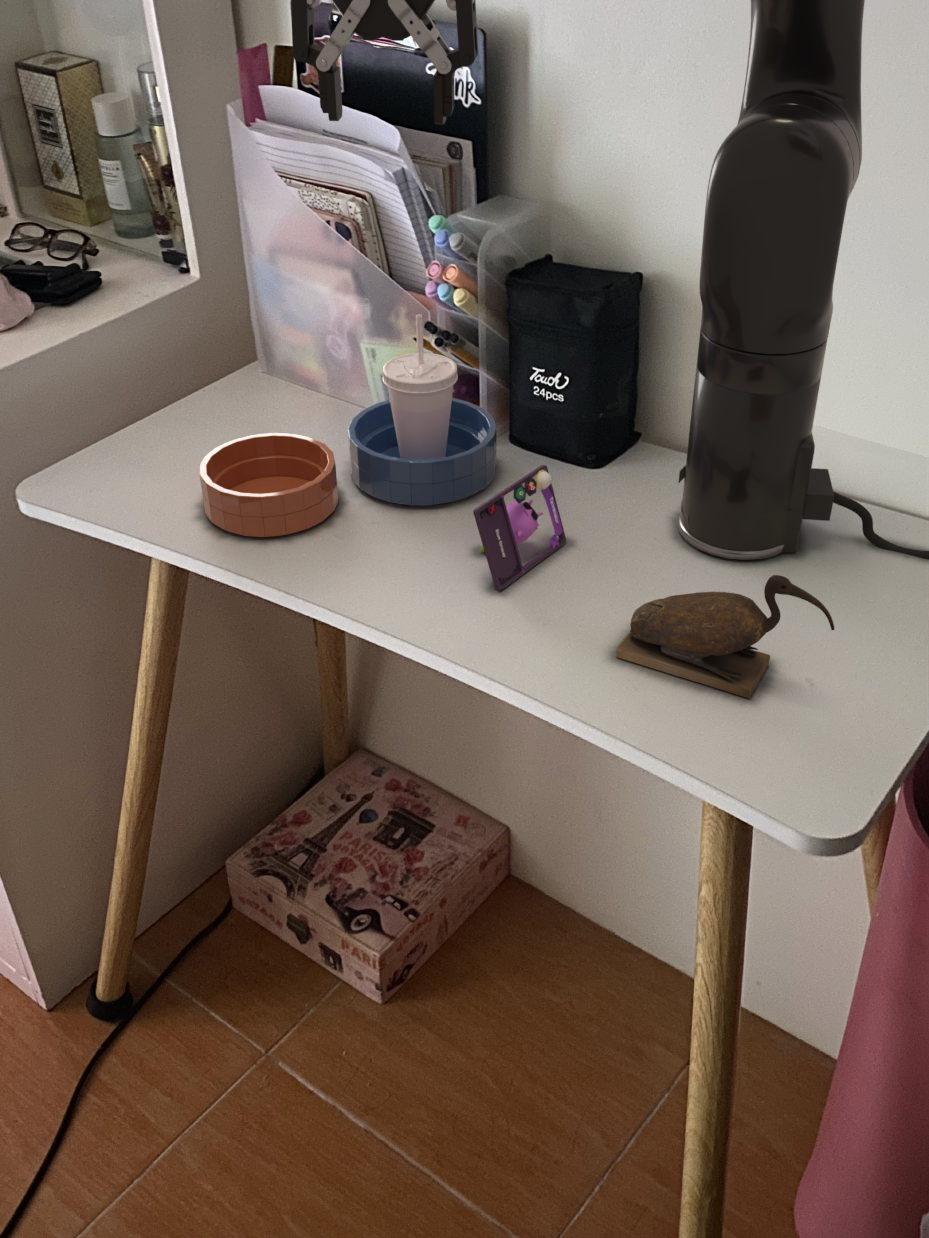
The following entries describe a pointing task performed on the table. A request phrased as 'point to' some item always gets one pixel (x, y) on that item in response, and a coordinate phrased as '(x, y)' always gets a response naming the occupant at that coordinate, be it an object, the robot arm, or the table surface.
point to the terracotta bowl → (269, 484)
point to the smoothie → (421, 399)
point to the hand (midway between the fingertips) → (388, 120)
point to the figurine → (709, 635)
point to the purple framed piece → (516, 527)
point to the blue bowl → (422, 478)
